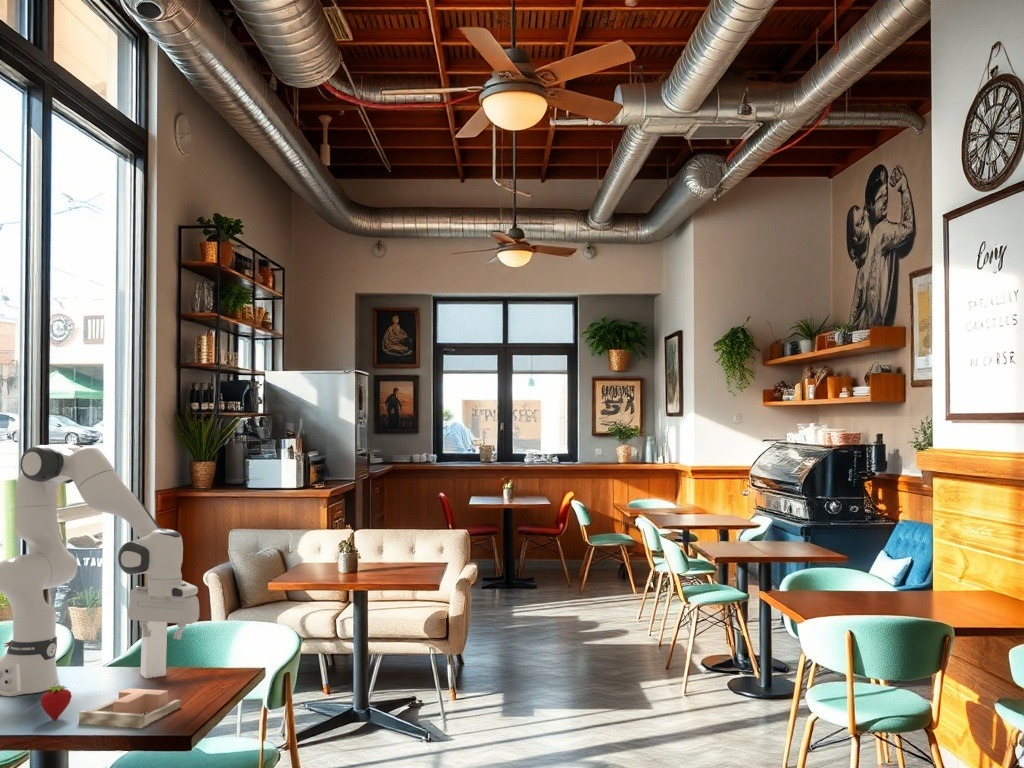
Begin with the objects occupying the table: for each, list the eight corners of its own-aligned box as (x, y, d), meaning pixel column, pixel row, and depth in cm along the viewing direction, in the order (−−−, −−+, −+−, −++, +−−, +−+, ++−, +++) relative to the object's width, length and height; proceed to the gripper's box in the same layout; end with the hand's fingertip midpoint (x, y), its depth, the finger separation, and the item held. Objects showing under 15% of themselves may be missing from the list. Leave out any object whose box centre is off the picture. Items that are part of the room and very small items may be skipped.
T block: (99, 720, 230) (99, 700, 231) (127, 707, 242) (127, 688, 243) (141, 723, 228) (141, 703, 229) (167, 709, 240) (168, 690, 240)
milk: (145, 678, 271) (147, 605, 272) (140, 674, 276) (141, 602, 277) (166, 675, 275) (167, 603, 276) (160, 671, 280) (162, 600, 281)
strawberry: (75, 717, 232) (77, 678, 233) (47, 725, 226) (48, 685, 227) (63, 714, 236) (64, 675, 236) (34, 721, 229) (36, 681, 230)
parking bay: (78, 724, 227) (79, 711, 228) (122, 703, 245) (122, 692, 245) (140, 728, 224) (141, 716, 224) (180, 707, 242) (180, 696, 242)
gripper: (124, 587, 249) (121, 637, 248) (191, 591, 245) (188, 642, 245) (137, 583, 255) (135, 632, 255) (203, 588, 252) (201, 637, 251)
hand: (162, 637), depth 250 cm, fingers open, 8 cm apart
